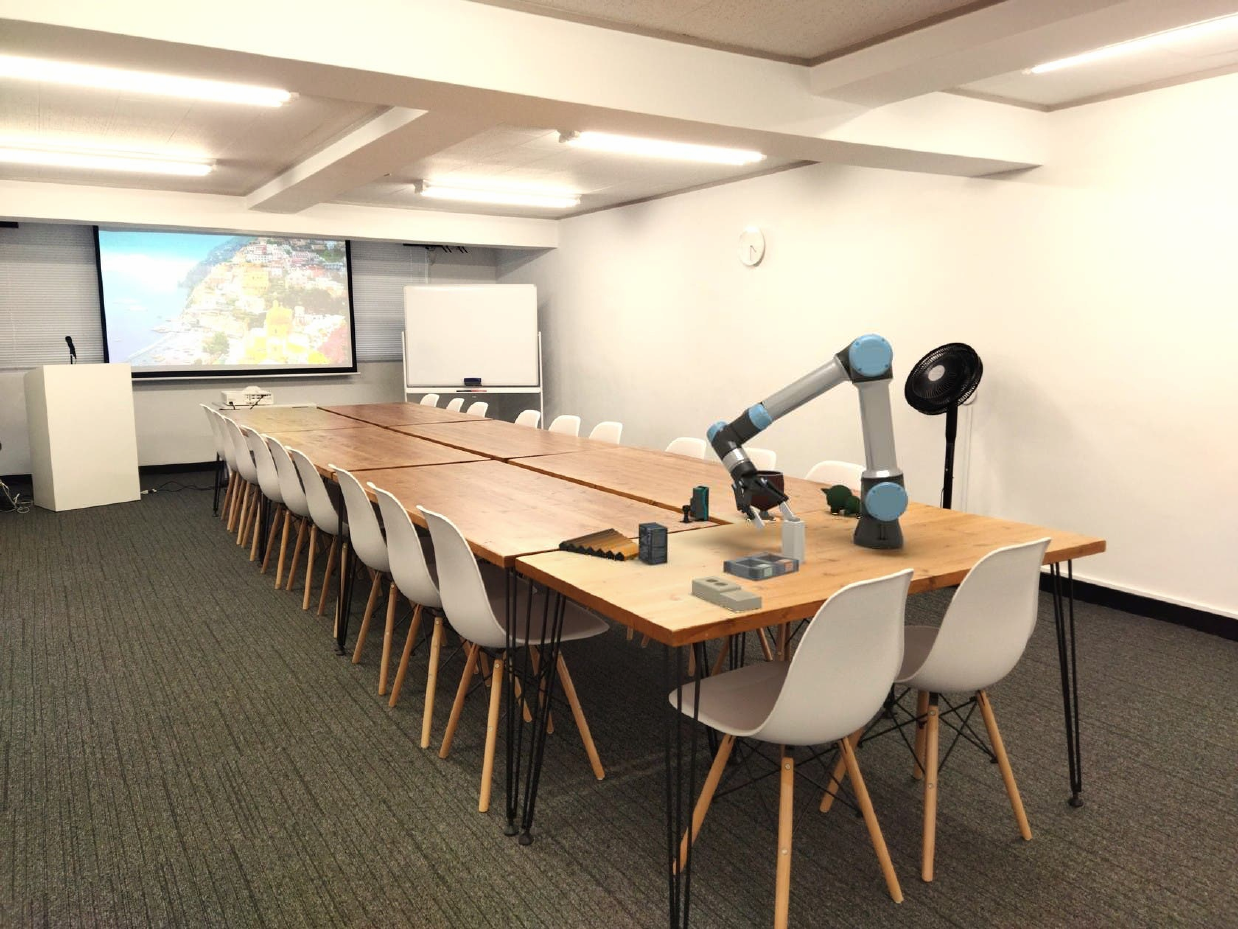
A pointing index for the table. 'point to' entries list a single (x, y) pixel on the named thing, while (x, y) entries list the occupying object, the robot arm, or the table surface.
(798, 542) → the plug
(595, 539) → the pan flute
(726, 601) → the electrical outlet
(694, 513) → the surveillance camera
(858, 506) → the toy figurine
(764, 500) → the mate gourd
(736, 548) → the table surface
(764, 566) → the socket block
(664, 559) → the box
